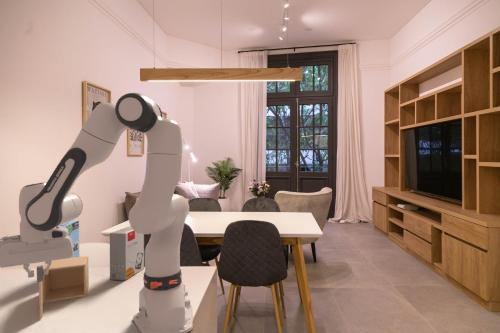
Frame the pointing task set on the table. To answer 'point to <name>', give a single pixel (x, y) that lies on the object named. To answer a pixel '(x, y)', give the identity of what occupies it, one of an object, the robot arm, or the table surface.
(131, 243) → the hard drive box
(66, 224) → the gum box
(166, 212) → the robot arm
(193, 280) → the table surface
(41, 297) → the front flap
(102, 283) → the table surface
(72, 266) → the carton
